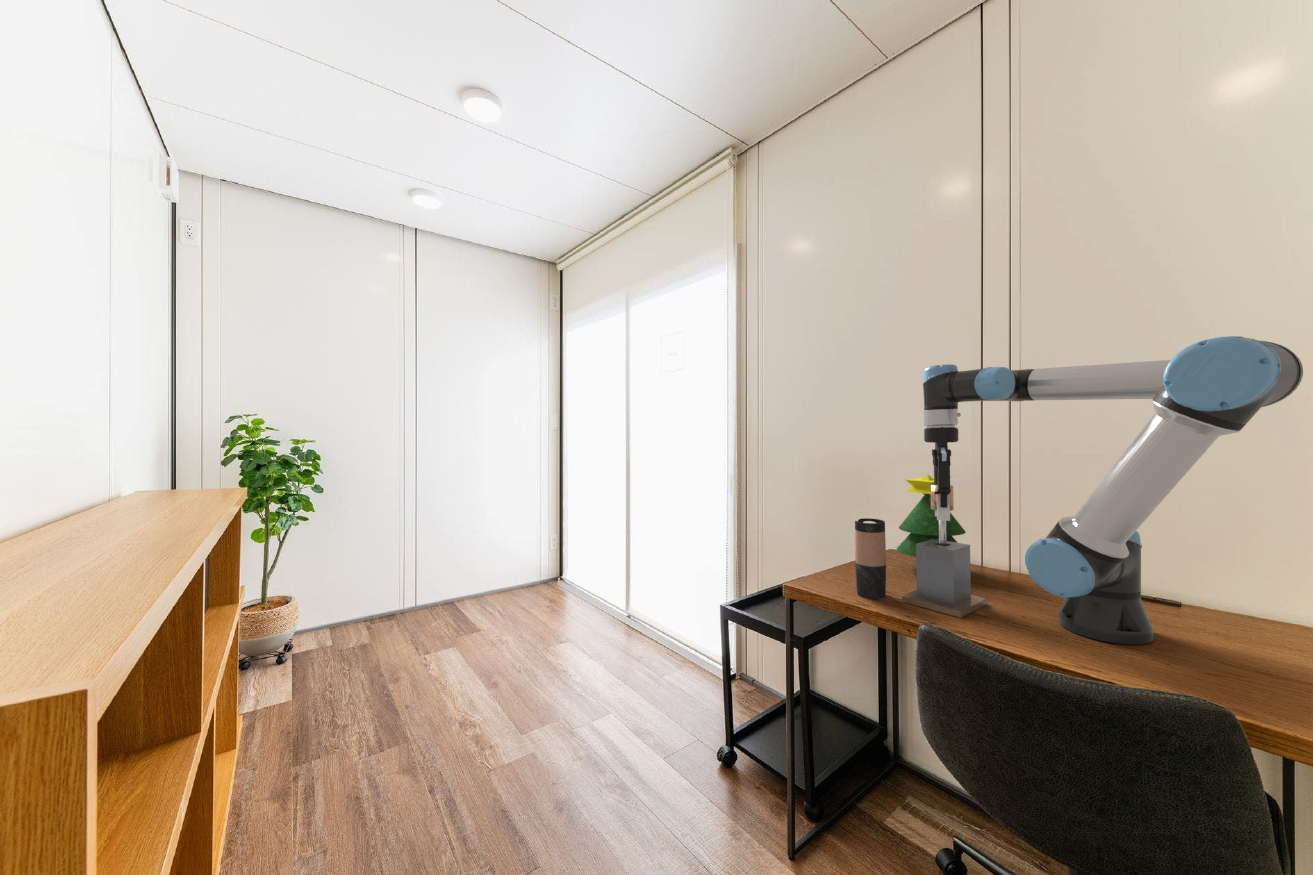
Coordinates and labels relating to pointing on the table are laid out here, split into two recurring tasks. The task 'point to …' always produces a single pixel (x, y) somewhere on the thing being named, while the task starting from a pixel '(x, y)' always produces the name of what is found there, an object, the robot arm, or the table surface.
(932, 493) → the plunger
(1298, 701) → the table surface
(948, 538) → the decorative tree
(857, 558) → the travel mug
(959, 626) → the table surface
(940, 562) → the press housing
